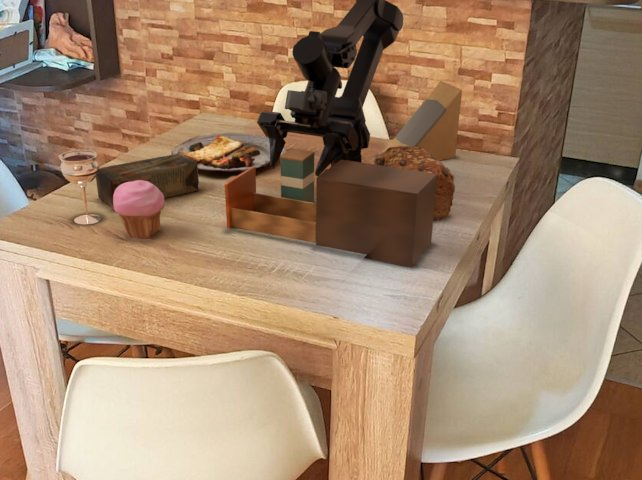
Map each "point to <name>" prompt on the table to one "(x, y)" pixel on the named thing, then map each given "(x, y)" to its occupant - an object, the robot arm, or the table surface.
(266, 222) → the drawer
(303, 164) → the long rectangular block
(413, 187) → the brown cupboard
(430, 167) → the bread
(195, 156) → the food plate
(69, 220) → the table surface
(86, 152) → the wineglass
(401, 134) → the sandwich container
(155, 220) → the cupcake
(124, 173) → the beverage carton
